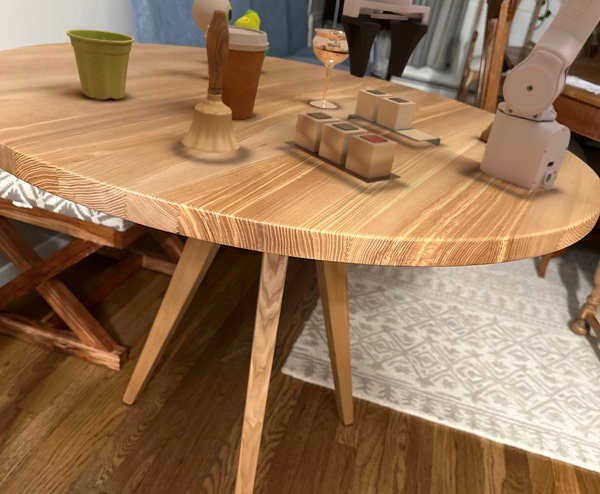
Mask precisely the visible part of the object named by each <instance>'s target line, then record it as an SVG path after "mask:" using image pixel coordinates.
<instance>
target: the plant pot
mask: <svg viewBox="0 0 600 494" xmlns="http://www.w3.org/2000/svg"><path fill="white" fill-rule="evenodd" d="M66 35H67V36H68V37H69V40H70V44H71V47H72V49H73V51H74V52H73V53H74V57H75V61H76V62H75V63H76V67H77V72H78V76H79V81H80V87H81V92H82V94H83V95H85V97H87V98H90V99H97V100H101V101H103V100H108V99H113V100H116V101H117V100H121V99H123V98H125V95H126V85H127V84H126V83H127V74H128V67H129V59H130V53H131V51H132V45H133V43H134V42H135V39H136V38H135V37H133V36H130V35H128V34H123V33H119V32H114V31H109V30H108V31H107V30H97V29H68V30H66Z"/></svg>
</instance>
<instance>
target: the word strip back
mask: <svg viewBox="0 0 600 494" xmlns="http://www.w3.org/2000/svg"><path fill="white" fill-rule="evenodd" d="M416 107H417V102H414V101H411V100H409V99H405V98H402V97H399V96H394V95H393V94H391V93H387V92H385V91H381V90H379V89H375V88H374V89H359V90H358V94H357V100H356V106H355V111H354V113H350V114H348V115H347V120H348V121H349V120H350V121H351V120H359V121H363V122H366V123H368V124H371V125H373V126H376V127H378V128H381V129H383V130H386V131H388V132H390V133H393V134H395V135H398V136H400V137H403V138H406V139H408V140H411V141H413V142H415V143H419V142H427V143H429V144H432V145H434V146H439V145H440V144H441V141H442V138H441V137H438V136H436V135H433V134H430V133H428V132H425V131H422V130H419V129H417V128H414V127H412V125H413V120H414V115H415V111H416Z"/></svg>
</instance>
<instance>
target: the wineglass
mask: <svg viewBox="0 0 600 494" xmlns="http://www.w3.org/2000/svg"><path fill="white" fill-rule="evenodd" d="M314 32H315V36H314V38H313V40H312V51H313V53H314V55H315V57H316V58H317V59H318V60H319V61H320V62H321V63H323V64H324V67H325V68H326V69H325V78H324V88H323V96H322V97H323V98H322V99H319V100H312V101H310V102H309V105H311V106H314V107H317V108H321V109H337V108H338V106H337V104H334V103H332V102H331V101H328V100H327V99H326V98H327V92H328V88H329V87H328V86H329V82H330V76H331V71H332V69H333V68H334V67H335V66H336V65H338V64H339V65H340V64H341V63H343V62H344V61H345V60H346V59H348V58H349V51H348V44H347V39H346V35H345V32H344V31H342V30H336V29H329V28H328V29H327V28H314Z"/></svg>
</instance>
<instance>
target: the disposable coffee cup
mask: <svg viewBox="0 0 600 494" xmlns="http://www.w3.org/2000/svg"><path fill="white" fill-rule="evenodd" d="M209 26H210V25H208V26H207V30H206V32H205V33H204V34H203V38H204V39H205V40H204V42H205V43H206V41H207V32H208V29H209ZM228 29H229V50H228V55H227V59H226V62H225V65H224V68H223V73H222V88H221V89H222V93H221V101H222V103H223V104H225V105H226V106H227V107H229V108H230V109H231V111H232V120H245V119H250V118H251V117H252V116H253V113H254V108H255V103H256V98H257V94H258V88H259V83H260V78H261V74H262V69H263V65H262V64H264V62H263V59H264V54H265V50H267V47H269V45H270V42H268V33H267V32H265V31H263V30H260V29H259V30H256V29H252V28H246V27H240V26H234V25H231V24H229V25H228ZM264 60H265V59H264ZM208 68H209V62H208V61H207V69H208Z"/></svg>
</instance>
